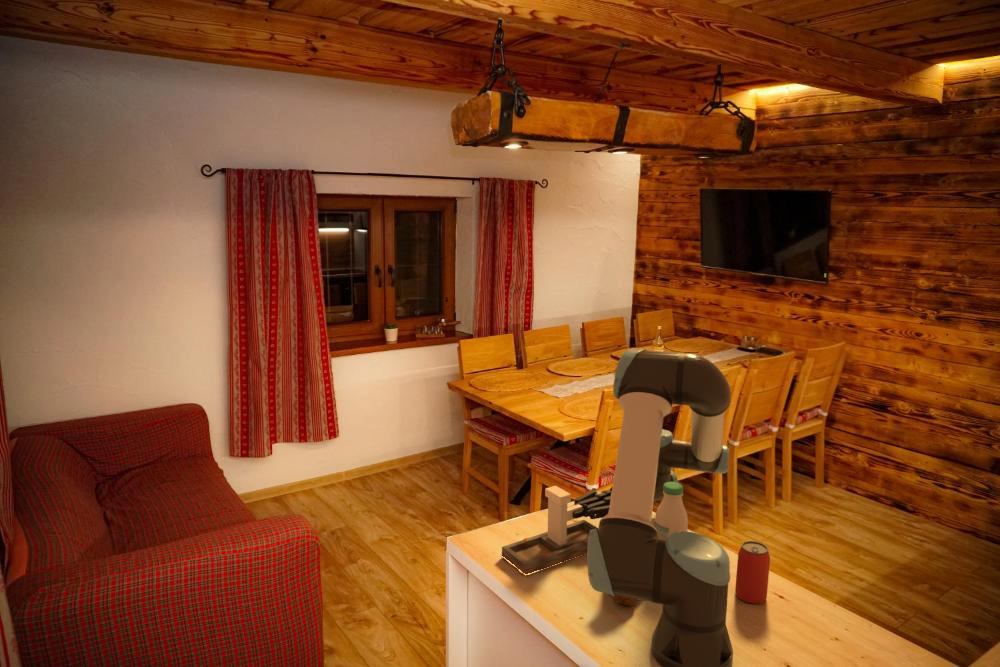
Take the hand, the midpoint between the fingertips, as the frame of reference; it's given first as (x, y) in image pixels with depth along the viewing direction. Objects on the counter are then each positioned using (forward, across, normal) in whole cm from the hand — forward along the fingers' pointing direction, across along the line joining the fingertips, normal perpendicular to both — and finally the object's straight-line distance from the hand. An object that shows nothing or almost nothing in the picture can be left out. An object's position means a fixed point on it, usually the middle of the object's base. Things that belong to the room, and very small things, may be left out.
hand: (560, 516), depth 170 cm
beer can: (-23, -39, -9) cm, 46 cm away
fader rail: (+1, 0, -9) cm, 9 cm away
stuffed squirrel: (0, -23, -9) cm, 25 cm away
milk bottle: (-18, -19, -9) cm, 28 cm away
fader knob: (+1, 0, -7) cm, 7 cm away
